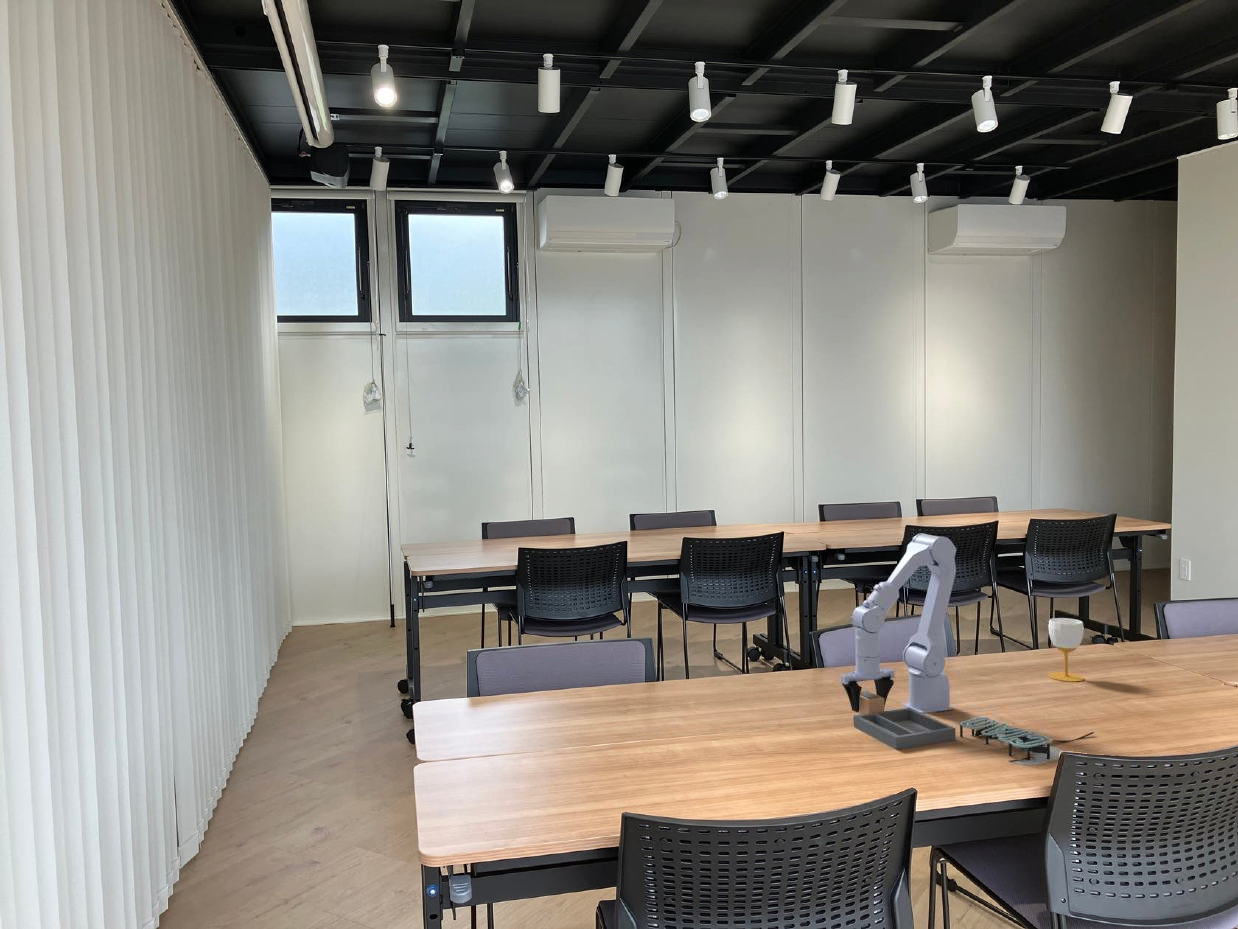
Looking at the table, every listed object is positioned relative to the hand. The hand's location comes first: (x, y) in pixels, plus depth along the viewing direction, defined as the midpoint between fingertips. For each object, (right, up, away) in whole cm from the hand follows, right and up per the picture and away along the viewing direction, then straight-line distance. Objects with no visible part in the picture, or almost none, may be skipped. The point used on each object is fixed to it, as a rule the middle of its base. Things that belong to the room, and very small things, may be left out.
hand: (868, 709), depth 212 cm
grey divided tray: (+4, -2, -14) cm, 15 cm away
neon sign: (+31, -2, -19) cm, 37 cm away
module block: (0, -2, 0) cm, 2 cm away
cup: (+64, +1, +28) cm, 70 cm away
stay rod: (-1, -1, -16) cm, 16 cm away
